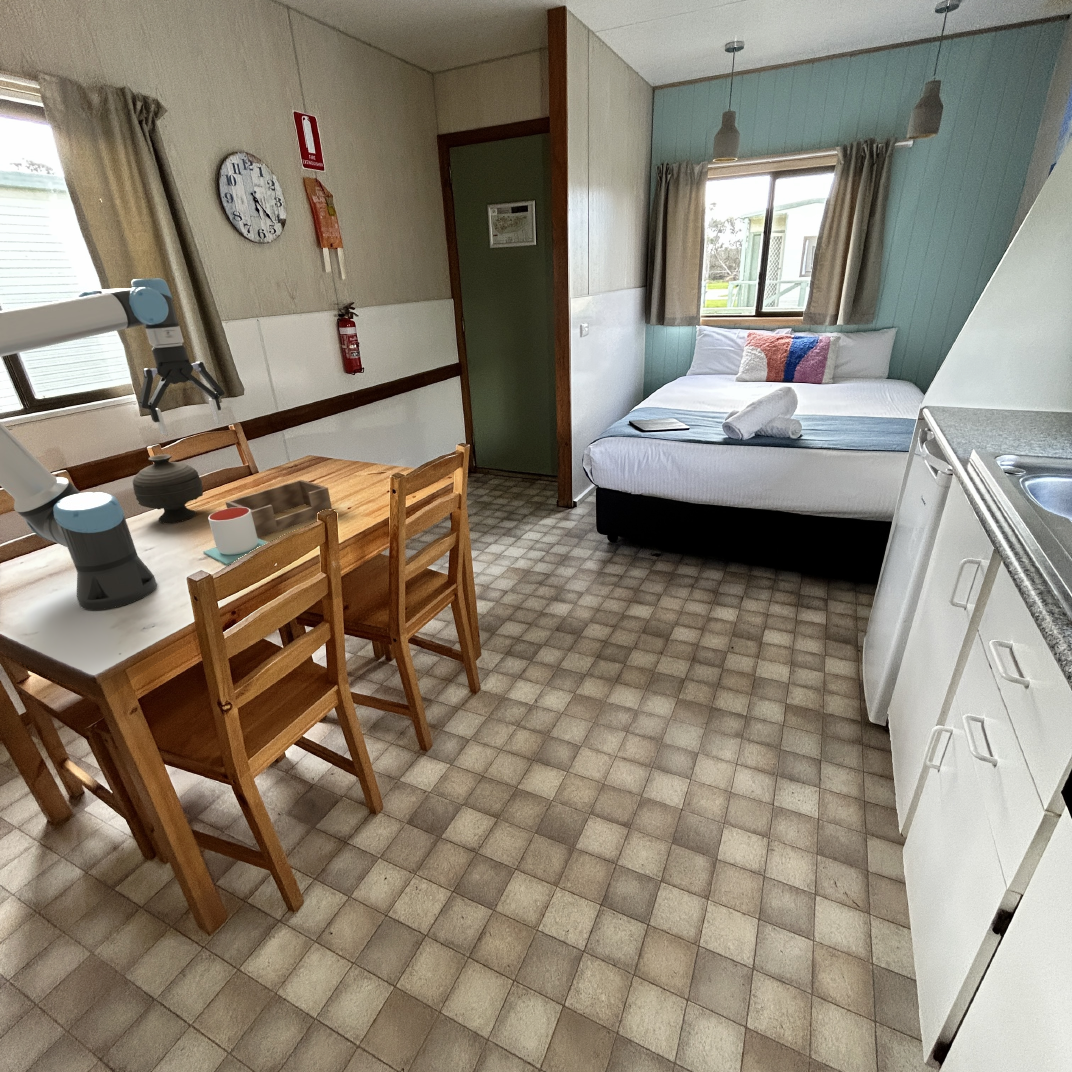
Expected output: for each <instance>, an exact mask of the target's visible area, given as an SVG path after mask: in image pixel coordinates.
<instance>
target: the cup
mask: <svg viewBox="0 0 1072 1072" xmlns="http://www.w3.org/2000/svg"><path fill="white" fill-rule="evenodd" d="M208 522H209V526H210V529H211V532H212V533H211V534H212V537H213V540H214V545H215V547H216V548H217V550H218V551H219V552H220V553H222V554H225V555H236V554H241V553H245V552H248V551H250V550H252V549H253V548H255V547H256V545H257V544H258V538H257V534H256V530H255V526H254V522H253V518H252V514H251V510H250V509H249V508H245V507H234V508H227V507H226V508H223V509H221V510H218V511H217V510H216V511H215V512H213V513H210V514H209V516H208Z"/></svg>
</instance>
